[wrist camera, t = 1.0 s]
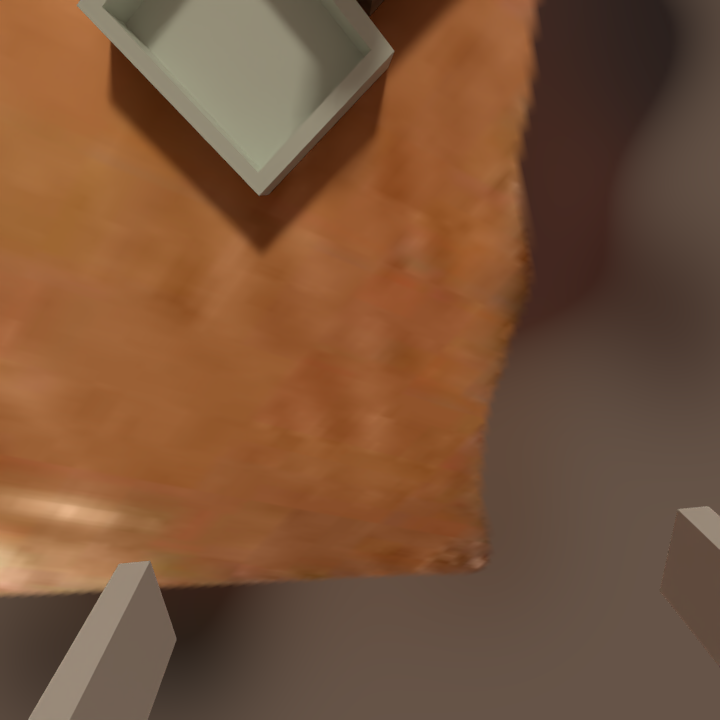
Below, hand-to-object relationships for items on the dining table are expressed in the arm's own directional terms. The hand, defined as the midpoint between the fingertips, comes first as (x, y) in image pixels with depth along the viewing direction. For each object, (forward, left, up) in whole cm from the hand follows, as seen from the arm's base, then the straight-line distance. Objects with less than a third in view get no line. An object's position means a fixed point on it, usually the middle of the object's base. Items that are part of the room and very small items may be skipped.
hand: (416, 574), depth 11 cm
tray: (-18, +7, -27) cm, 33 cm away
